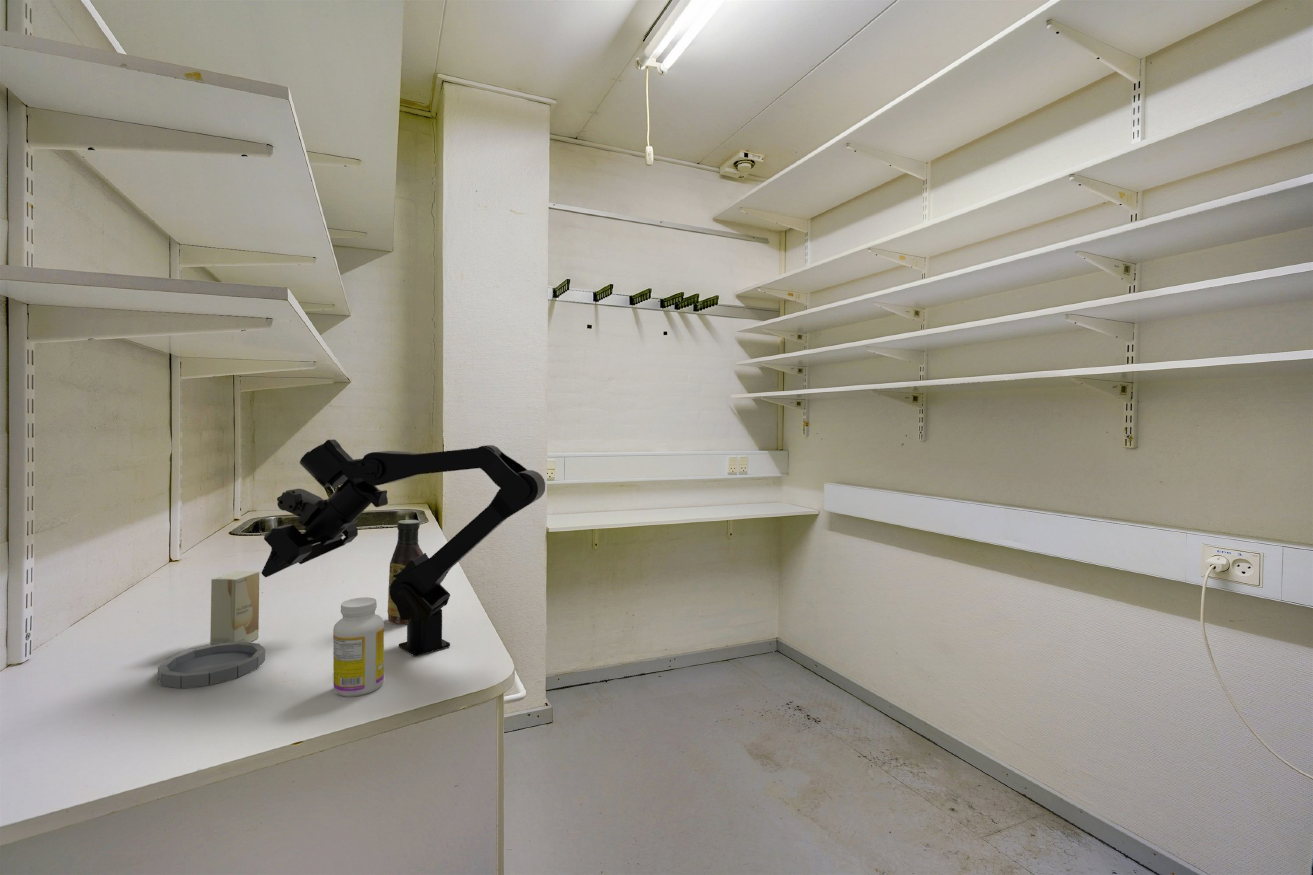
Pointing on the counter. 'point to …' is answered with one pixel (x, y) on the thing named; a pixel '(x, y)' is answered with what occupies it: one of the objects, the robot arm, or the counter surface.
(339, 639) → the supplement bottle
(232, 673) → the round tray
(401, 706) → the counter surface
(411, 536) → the sauce bottle
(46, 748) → the counter surface
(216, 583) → the skincare box
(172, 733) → the counter surface
